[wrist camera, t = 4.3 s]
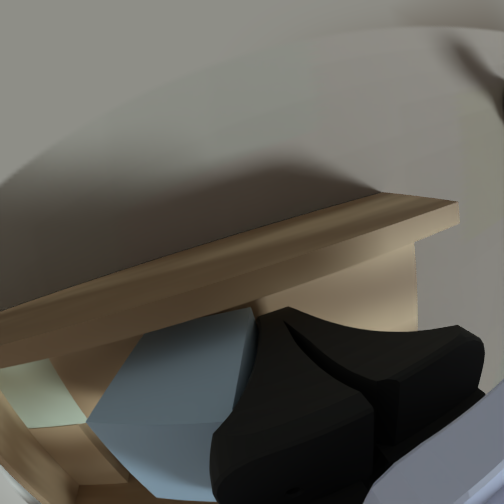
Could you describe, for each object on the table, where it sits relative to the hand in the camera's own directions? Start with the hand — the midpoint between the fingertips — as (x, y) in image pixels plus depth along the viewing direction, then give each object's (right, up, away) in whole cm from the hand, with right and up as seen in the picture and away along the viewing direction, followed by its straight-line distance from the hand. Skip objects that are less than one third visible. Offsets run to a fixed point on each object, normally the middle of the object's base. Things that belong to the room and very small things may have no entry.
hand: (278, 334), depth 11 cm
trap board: (-4, -3, +3) cm, 6 cm away
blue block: (-2, -1, 0) cm, 3 cm away
